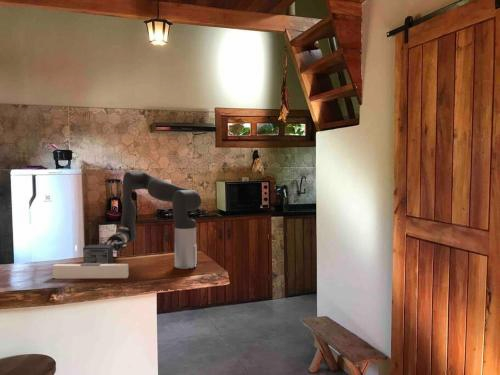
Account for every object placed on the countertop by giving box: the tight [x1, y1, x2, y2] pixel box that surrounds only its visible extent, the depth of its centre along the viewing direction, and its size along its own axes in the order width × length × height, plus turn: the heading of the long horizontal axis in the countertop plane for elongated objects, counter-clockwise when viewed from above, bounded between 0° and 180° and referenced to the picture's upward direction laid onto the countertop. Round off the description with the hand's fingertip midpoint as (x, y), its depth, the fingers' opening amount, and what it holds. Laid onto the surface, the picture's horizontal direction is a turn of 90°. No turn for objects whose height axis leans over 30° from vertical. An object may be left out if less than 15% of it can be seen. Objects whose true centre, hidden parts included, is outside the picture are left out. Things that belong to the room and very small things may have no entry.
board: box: [52, 262, 130, 280], centre depth 152 cm, size 28×3×5 cm, turn 94°
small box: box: [82, 244, 114, 264], centre depth 162 cm, size 11×6×10 cm, turn 94°
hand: (106, 249), depth 173 cm, fingers closed
